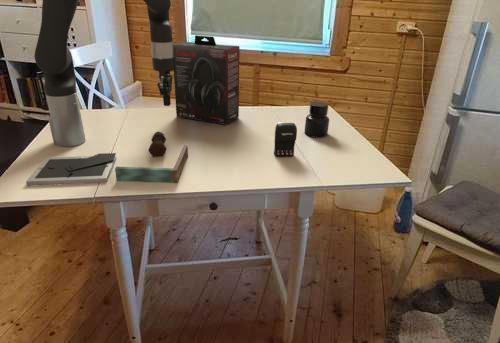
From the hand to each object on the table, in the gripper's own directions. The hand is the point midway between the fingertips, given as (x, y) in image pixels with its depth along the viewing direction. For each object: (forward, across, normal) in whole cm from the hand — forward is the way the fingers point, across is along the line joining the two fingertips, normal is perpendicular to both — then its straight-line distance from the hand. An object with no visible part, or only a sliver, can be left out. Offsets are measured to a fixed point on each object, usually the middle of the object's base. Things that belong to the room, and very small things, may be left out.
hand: (167, 105), depth 131 cm
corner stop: (+11, +28, +1) cm, 30 cm away
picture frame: (+12, +32, -21) cm, 40 cm away
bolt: (+12, +13, -1) cm, 17 cm away
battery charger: (+12, +16, +42) cm, 46 cm away
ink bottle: (+12, -6, +56) cm, 57 cm away
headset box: (+12, -22, +12) cm, 28 cm away
